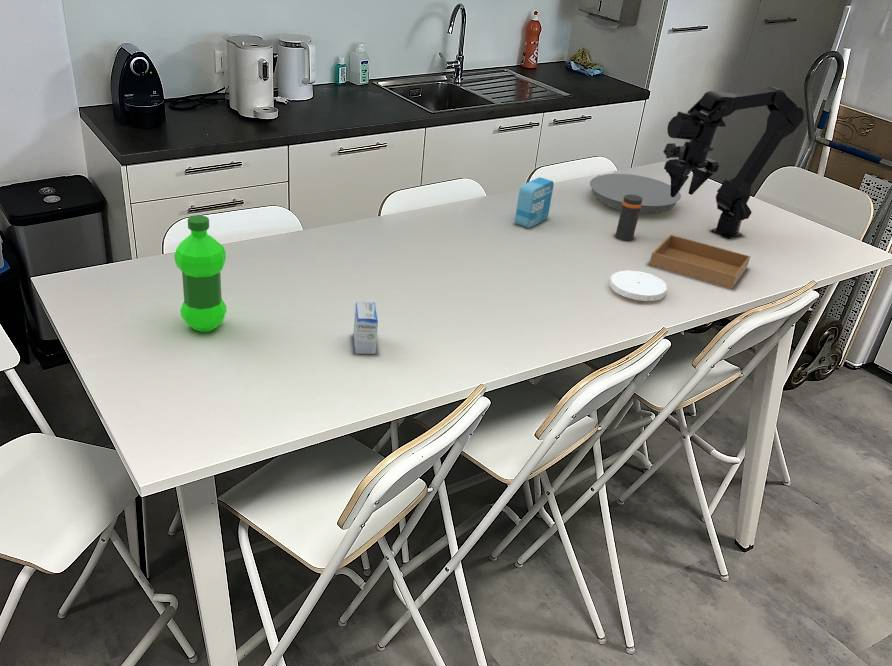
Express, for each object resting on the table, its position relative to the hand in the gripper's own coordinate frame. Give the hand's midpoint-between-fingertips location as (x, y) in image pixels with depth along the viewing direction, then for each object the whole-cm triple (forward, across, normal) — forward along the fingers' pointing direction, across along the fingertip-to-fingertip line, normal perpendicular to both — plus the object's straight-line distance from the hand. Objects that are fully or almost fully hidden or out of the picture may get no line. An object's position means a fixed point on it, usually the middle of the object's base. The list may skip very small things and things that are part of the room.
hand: (681, 195), depth 240 cm
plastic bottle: (+29, +134, -26) cm, 140 cm away
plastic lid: (+16, +36, +17) cm, 43 cm away
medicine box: (+25, +110, 0) cm, 113 cm away
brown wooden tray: (+13, +9, +17) cm, 23 cm away
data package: (+17, +25, -29) cm, 42 cm away
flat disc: (+12, -15, -23) cm, 30 cm away
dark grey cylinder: (+14, +10, -7) cm, 19 cm away
